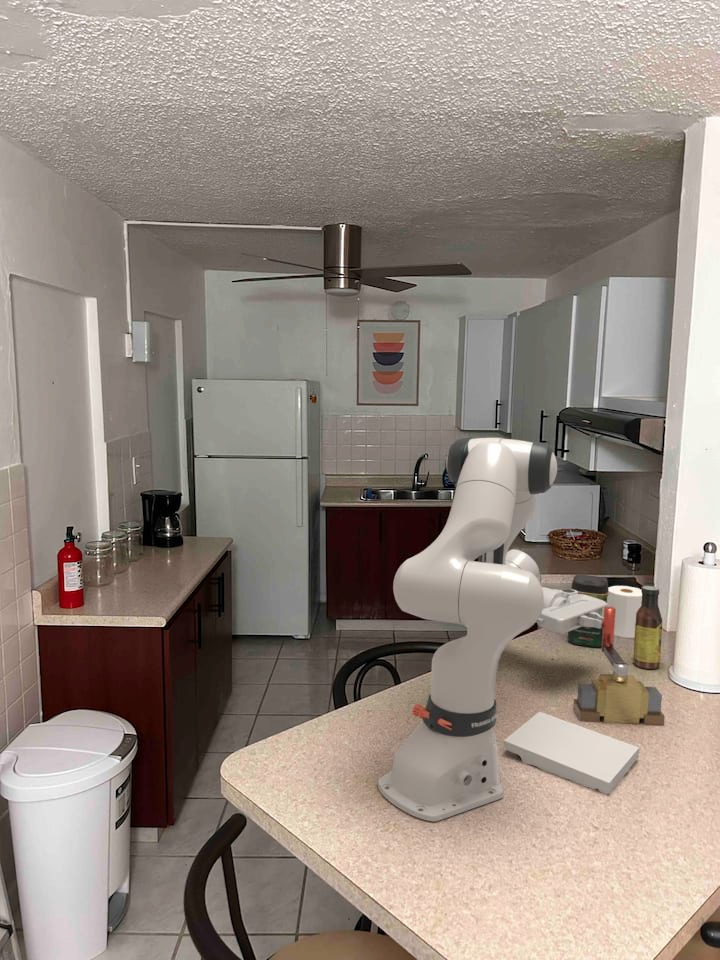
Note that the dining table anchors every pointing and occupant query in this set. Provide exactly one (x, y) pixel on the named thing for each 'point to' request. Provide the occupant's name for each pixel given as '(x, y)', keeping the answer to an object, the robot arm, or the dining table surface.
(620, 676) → the valve lever
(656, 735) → the dining table surface
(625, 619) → the toilet paper
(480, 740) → the robot arm
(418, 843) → the dining table surface
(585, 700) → the ball valve
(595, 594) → the coffee jar
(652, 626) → the sauce bottle
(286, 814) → the dining table surface
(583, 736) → the light grey flat slab
